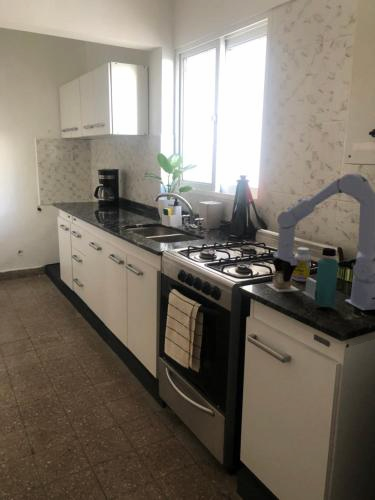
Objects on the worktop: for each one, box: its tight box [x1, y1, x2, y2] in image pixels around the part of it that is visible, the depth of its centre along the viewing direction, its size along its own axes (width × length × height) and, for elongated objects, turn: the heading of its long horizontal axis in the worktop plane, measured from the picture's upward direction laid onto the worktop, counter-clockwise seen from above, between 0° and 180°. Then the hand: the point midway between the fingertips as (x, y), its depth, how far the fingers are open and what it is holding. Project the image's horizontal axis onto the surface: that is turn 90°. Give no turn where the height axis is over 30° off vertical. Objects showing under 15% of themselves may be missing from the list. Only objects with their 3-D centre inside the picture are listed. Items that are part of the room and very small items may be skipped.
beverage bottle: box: [313, 247, 339, 308], centre depth 135 cm, size 6×7×20 cm
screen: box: [302, 277, 316, 302], centre depth 148 cm, size 8×3×6 cm, turn 16°
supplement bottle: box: [292, 246, 312, 282], centre depth 168 cm, size 7×7×13 cm
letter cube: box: [272, 270, 293, 288], centre depth 157 cm, size 5×5×5 cm
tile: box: [265, 283, 300, 293], centre depth 158 cm, size 9×9×1 cm
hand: (282, 279), depth 157 cm, fingers closed on letter cube, 5 cm apart
